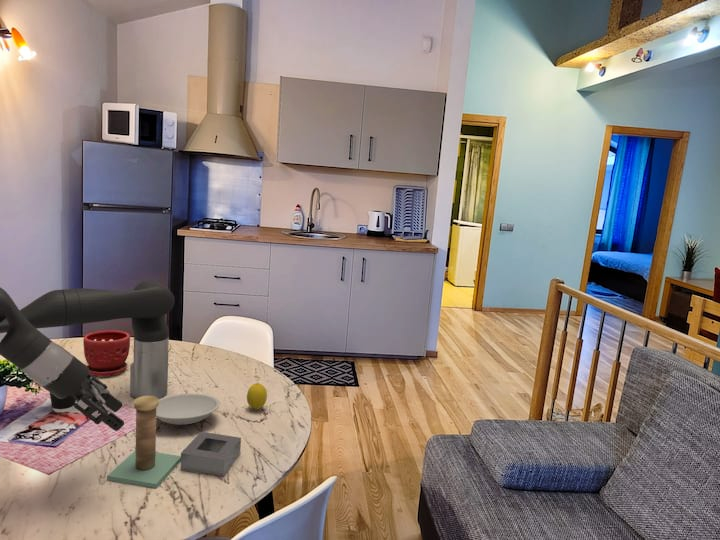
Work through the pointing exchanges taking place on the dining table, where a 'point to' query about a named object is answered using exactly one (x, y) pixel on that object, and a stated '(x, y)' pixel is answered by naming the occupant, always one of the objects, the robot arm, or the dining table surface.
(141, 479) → the mat
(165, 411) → the dish
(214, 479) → the dining table surface
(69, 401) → the dixie cup
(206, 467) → the grey square socket block
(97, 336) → the plant pot
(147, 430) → the peg
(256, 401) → the lemon
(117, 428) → the robot arm
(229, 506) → the dining table surface
